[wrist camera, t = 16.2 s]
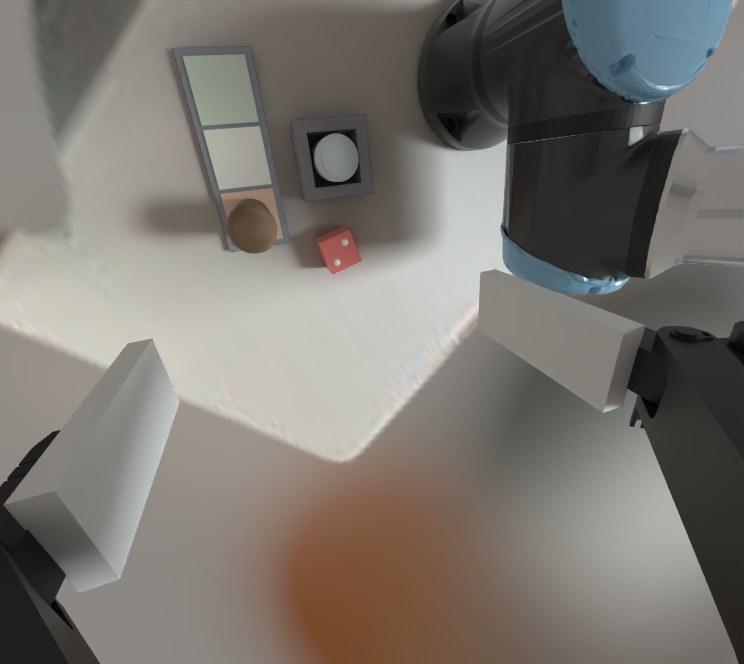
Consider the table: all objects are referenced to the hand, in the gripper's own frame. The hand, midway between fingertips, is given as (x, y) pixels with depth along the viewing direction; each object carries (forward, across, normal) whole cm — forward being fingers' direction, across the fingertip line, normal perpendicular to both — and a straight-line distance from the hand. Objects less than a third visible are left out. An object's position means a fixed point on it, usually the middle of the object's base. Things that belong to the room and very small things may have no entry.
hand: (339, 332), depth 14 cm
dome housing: (+32, +7, +7) cm, 33 cm away
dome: (+31, +7, +7) cm, 32 cm away
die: (+32, +6, -3) cm, 32 cm away
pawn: (+31, -3, +2) cm, 31 cm away
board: (+32, -3, +8) cm, 33 cm away
